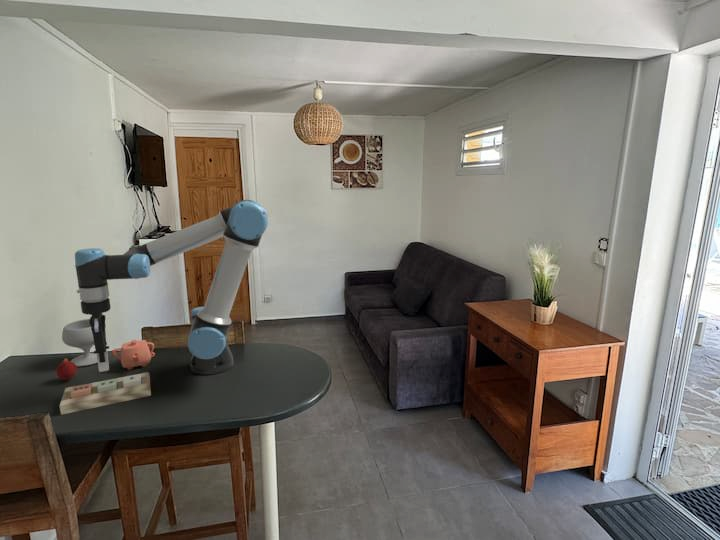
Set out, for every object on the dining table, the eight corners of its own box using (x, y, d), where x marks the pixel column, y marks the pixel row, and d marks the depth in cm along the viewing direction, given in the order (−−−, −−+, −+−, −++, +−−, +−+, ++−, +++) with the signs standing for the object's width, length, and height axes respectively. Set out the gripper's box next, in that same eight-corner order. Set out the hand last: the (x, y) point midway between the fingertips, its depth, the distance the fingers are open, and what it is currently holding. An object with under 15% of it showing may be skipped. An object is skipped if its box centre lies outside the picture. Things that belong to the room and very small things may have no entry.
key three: (92, 391, 132) (91, 382, 132) (91, 398, 128) (89, 389, 127) (74, 395, 130) (72, 386, 129) (72, 402, 126) (70, 393, 125)
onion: (67, 385, 140) (64, 363, 138) (53, 383, 141) (50, 361, 139) (82, 377, 145) (79, 356, 144) (68, 375, 146) (65, 354, 145)
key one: (141, 381, 139) (140, 373, 138) (141, 388, 135) (140, 379, 134) (124, 385, 137) (123, 376, 136) (124, 391, 132) (123, 382, 132)
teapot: (137, 374, 148) (134, 349, 146) (112, 369, 151) (108, 345, 149) (161, 360, 159) (159, 337, 156) (137, 356, 162) (134, 333, 160)
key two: (117, 386, 136) (116, 377, 135) (117, 393, 131) (115, 384, 131) (100, 390, 133) (98, 381, 133) (98, 397, 129) (97, 387, 128)
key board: (149, 379, 143) (149, 372, 143) (150, 395, 133) (149, 387, 132) (67, 396, 132) (65, 388, 132) (61, 414, 122) (59, 405, 121)
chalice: (62, 371, 150) (55, 332, 147) (71, 356, 162) (65, 320, 159) (106, 364, 155) (101, 327, 152) (111, 350, 168) (107, 315, 165)
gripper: (82, 295, 129) (92, 364, 134) (77, 306, 118) (88, 381, 123) (110, 292, 133) (118, 360, 138) (108, 303, 122) (116, 376, 127)
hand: (104, 370), depth 131 cm, fingers closed
